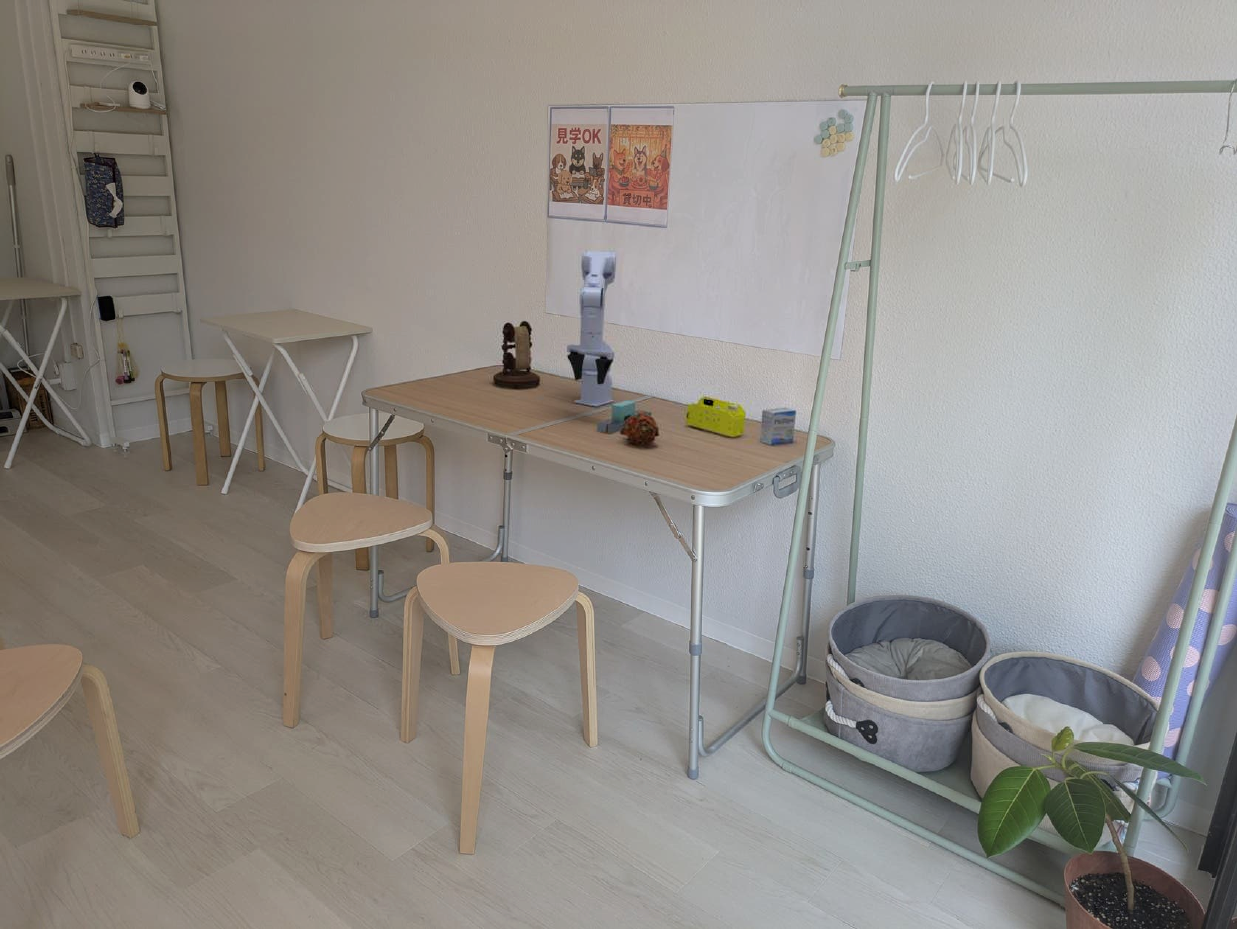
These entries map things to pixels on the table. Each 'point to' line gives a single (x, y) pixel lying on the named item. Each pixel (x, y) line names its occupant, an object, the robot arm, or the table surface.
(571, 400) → the table surface
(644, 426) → the brown scaly rounded piece
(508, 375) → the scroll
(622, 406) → the clip
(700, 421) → the yellow toy chassis
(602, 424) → the rail
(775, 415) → the medicine box
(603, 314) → the robot arm
